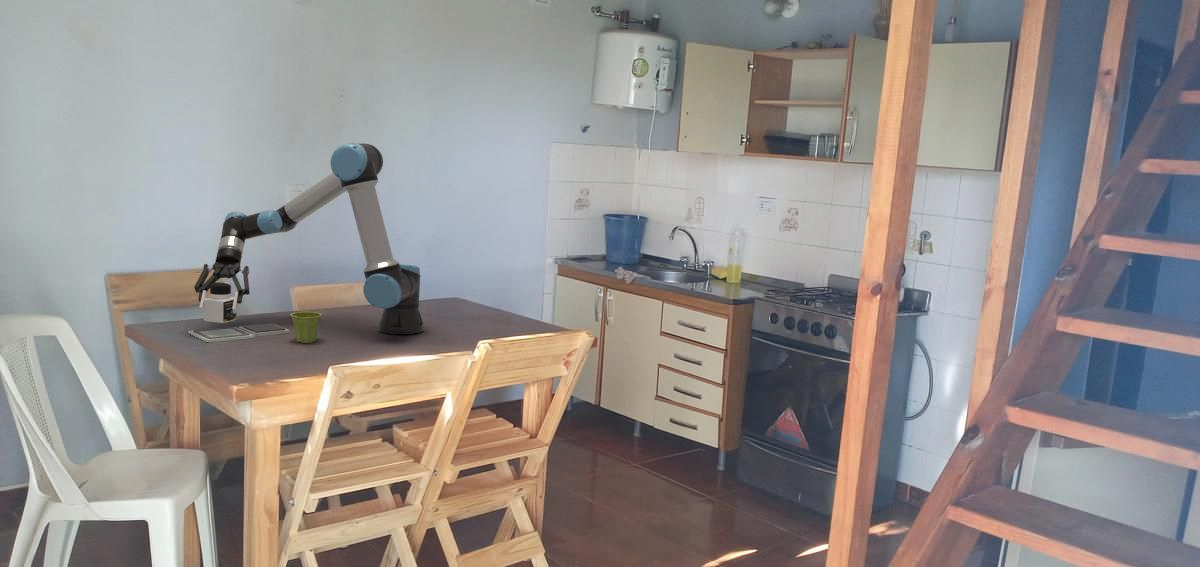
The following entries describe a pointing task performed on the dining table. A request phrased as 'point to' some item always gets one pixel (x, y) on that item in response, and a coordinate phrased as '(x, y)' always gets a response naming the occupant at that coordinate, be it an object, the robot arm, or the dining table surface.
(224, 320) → the medicine bottle
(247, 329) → the ink pad
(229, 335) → the print board
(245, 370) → the dining table surface
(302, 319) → the plant pot
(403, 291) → the robot arm
